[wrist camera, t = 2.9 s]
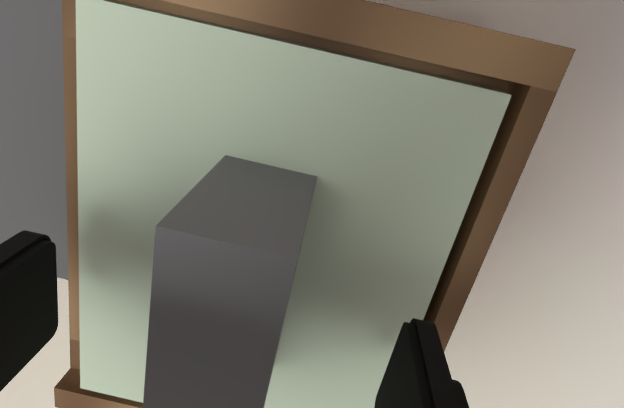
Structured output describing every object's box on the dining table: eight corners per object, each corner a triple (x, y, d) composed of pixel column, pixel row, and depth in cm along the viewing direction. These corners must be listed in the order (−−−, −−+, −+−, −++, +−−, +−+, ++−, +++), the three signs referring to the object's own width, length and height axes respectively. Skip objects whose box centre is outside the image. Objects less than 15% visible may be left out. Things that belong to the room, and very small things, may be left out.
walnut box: (139, 298, 23) (55, 406, 16) (158, -38, 16) (32, -77, 10) (377, 354, 23) (386, 484, 16) (489, 39, 16) (575, 49, 10)
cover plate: (95, 368, 17) (-17, 516, 12) (98, -4, 11) (-106, -26, 6) (368, 432, 17) (374, 608, 12) (499, 89, 11) (614, 140, 6)
